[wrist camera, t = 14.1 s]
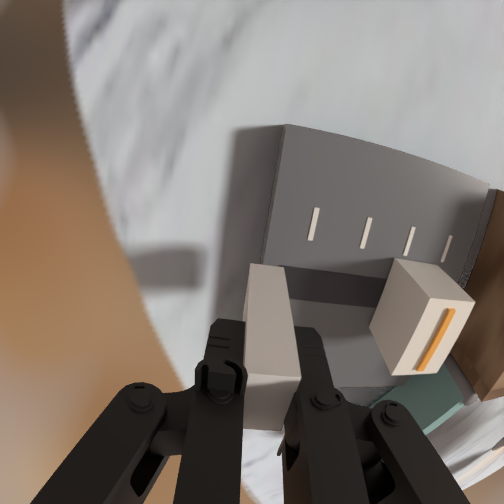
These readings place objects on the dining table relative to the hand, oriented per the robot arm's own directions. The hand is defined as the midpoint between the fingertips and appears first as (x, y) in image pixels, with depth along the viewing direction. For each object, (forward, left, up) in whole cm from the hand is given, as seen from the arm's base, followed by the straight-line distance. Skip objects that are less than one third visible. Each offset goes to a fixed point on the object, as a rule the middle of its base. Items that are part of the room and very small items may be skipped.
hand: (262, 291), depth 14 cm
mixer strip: (0, +6, -3) cm, 7 cm away
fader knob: (0, +8, -1) cm, 8 cm away
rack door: (+10, +13, -3) cm, 16 cm away
